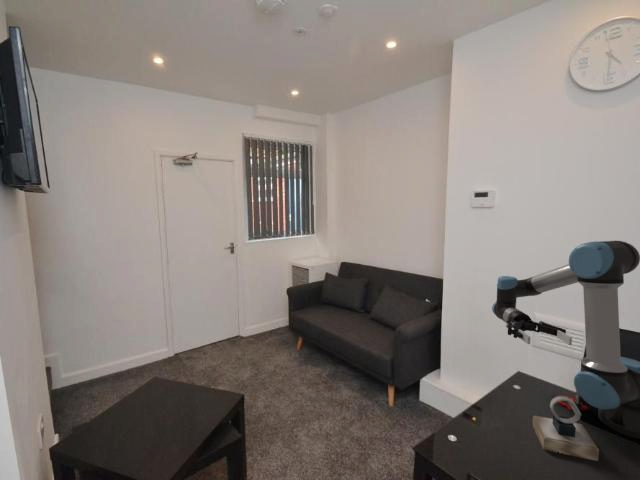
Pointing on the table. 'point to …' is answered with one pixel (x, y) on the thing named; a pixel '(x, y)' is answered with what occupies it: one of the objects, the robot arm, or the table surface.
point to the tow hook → (576, 400)
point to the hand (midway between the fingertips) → (549, 340)
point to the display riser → (565, 439)
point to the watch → (565, 423)
